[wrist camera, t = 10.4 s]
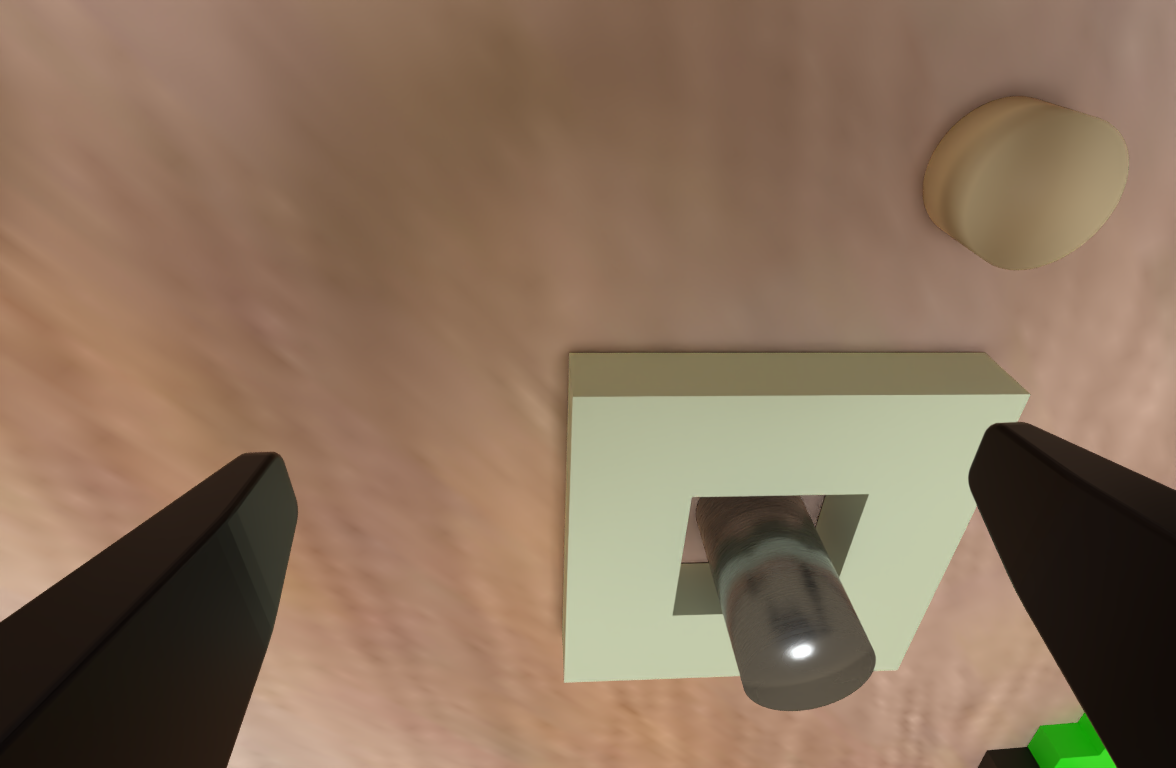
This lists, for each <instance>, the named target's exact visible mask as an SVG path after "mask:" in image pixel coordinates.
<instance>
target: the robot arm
mask: <svg viewBox="0 0 1176 768" xmlns="http://www.w3.org/2000/svg"><path fill="white" fill-rule="evenodd" d="M968 483H969V488H970V491H971V493H972V496H973V498H974V500H975V502H976V505H977V507H978V509H979V511H980V513H981V516H982V518H983V520H984V522H985V525H986V527H987V529H988V531H989V534H990V536H991V538H992V540H993V543H994V545H995V547H996V549H997V552H998V554H999V556H1000V558H1001V561H1002V563H1003V565H1004V567H1005V570H1006V572H1007V574H1008V576H1009V578H1010V580H1011V582H1012V584H1013V587H1014V589H1015V591H1016V593H1017V595H1018V596H1019V598H1020V600H1021V602H1022V604H1023V606H1024V607H1025V609H1026V611H1027V613H1028V614H1029V616H1030V618H1031V620H1032V621H1033V623H1034V625H1035V627H1036V628H1037V630H1038V632H1039V634H1040V635H1041V637H1042V639H1043V641H1044V642H1045V644H1046V646H1047V648H1048V649H1049V651H1050V653H1051V654H1052V656H1053V658H1054V660H1055V661H1056V663H1057V665H1058V667H1059V668H1060V670H1061V672H1062V674H1063V675H1064V677H1065V679H1066V681H1067V682H1068V684H1069V686H1070V687H1071V689H1072V691H1073V693H1074V694H1075V696H1076V698H1077V700H1078V701H1079V703H1080V705H1081V707H1082V708H1083V710H1084V712H1085V714H1086V715H1087V717H1088V719H1089V720H1090V722H1091V724H1092V726H1093V727H1094V729H1095V731H1096V733H1097V734H1098V736H1099V738H1100V740H1101V741H1102V743H1103V745H1104V747H1105V748H1106V750H1107V752H1108V754H1109V755H1110V757H1111V759H1112V760H1113V762H1114V764H1115V766H1116V767H1117V768H1176V490H1174V489H1172V488H1170V487H1167V486H1165V485H1163V484H1161V483H1159V482H1156V481H1154V480H1152V479H1150V478H1148V477H1145V476H1143V475H1141V474H1139V473H1137V472H1134V471H1132V470H1130V469H1128V468H1126V467H1123V466H1121V465H1119V464H1117V463H1115V462H1112V461H1110V460H1108V459H1106V458H1104V457H1101V456H1099V455H1097V454H1095V453H1093V452H1090V451H1088V450H1086V449H1084V448H1082V447H1079V446H1077V445H1075V444H1073V443H1071V442H1068V441H1066V440H1064V439H1062V438H1060V437H1057V436H1055V435H1053V434H1051V433H1049V432H1046V431H1044V430H1042V429H1040V428H1038V427H1035V426H1033V425H1031V424H1028V423H1025V422H1006V423H995V424H992V425H990V426H989V427H988V428H987V429H986V431H985V433H984V435H983V437H982V440H981V442H980V445H979V447H978V450H977V452H976V454H975V457H974V459H973V462H972V464H971V467H970V469H969V474H968ZM297 518H298V505H297V500H296V497H295V494H294V490H293V487H292V484H291V481H290V478H289V475H288V472H287V469H286V466H285V463H284V460H283V458H282V457H281V456H280V455H279V454H278V453H276V452H255V453H244V454H242V455H240V456H238V457H237V458H235V459H234V460H232V461H231V462H230V463H228V464H227V465H225V466H224V467H222V468H221V469H220V470H218V471H217V472H215V473H214V474H212V475H211V476H209V477H208V478H207V479H205V480H204V481H202V482H201V483H199V484H198V485H197V486H195V487H194V488H192V489H191V490H189V491H188V492H187V493H185V494H184V495H182V496H181V497H179V498H178V499H176V500H175V501H174V502H172V503H171V504H169V505H168V506H166V507H165V508H164V509H162V510H161V511H159V512H158V513H156V514H155V515H154V516H152V517H151V518H149V519H148V520H146V521H145V522H144V523H142V524H141V525H139V526H138V527H136V528H135V529H133V530H132V531H131V532H129V533H128V534H126V535H125V536H123V537H122V538H121V539H119V540H118V541H116V542H115V543H113V544H112V545H111V546H109V547H108V548H106V549H105V550H103V551H102V552H101V553H99V554H98V555H96V556H95V557H93V558H92V559H90V560H89V561H88V562H86V563H85V564H83V565H82V566H80V567H79V568H78V569H76V570H75V571H73V572H72V573H70V574H69V575H67V576H66V577H65V578H63V579H62V580H60V581H59V582H57V583H56V584H55V585H53V586H52V587H50V588H49V589H47V590H46V591H45V592H43V593H42V594H40V595H39V596H37V597H36V598H34V599H33V600H32V601H30V602H29V603H27V604H26V605H24V606H23V607H22V608H20V609H19V610H17V611H16V612H14V613H13V614H11V615H10V616H9V617H7V618H6V619H4V620H3V621H1V622H0V768H227V765H228V762H229V759H230V756H231V753H232V751H233V748H234V745H235V742H236V739H237V736H238V733H239V730H240V727H241V724H242V721H243V718H244V715H245V713H246V710H247V707H248V704H249V701H250V698H251V695H252V692H253V689H254V686H255V683H256V680H257V677H258V674H259V672H260V669H261V666H262V663H263V660H264V657H265V654H266V651H267V648H268V645H269V641H270V638H271V635H272V632H273V628H274V624H275V620H276V616H277V611H278V607H279V602H280V598H281V593H282V588H283V584H284V579H285V574H286V570H287V565H288V561H289V556H290V551H291V547H292V542H293V537H294V533H295V528H296V523H297Z"/></svg>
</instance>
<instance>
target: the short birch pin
mask: <svg viewBox="0 0 1176 768" xmlns="http://www.w3.org/2000/svg"><path fill="white" fill-rule="evenodd" d="M1128 170H1129V156H1128V149H1127V146H1126V143H1125V141H1124V139H1123V137H1122V136H1121V134H1120V133H1119V132H1118V130H1117V129H1116V128H1115V127H1114V126H1112V125H1111V124H1110V123H1108V122H1106V121H1104V120H1102V119H1100V118H1097V117H1094V116H1090V115H1087V114H1084V113H1081V112H1077V111H1074V110H1071V109H1068V108H1065V107H1061V106H1058V105H1055V104H1052V103H1049V102H1045V101H1042V100H1039V99H1035V98H1032V97H1026V96H1010V97H1005V98H1000V99H997V100H994V101H991V102H989V103H986V104H984V105H982V106H980V107H978V108H976V109H975V110H973V111H971V112H970V113H969V114H967V115H966V116H964V117H963V118H962V119H961V120H960V121H958V122H957V123H956V124H955V125H954V126H953V127H952V128H951V129H950V130H949V131H948V132H947V133H946V135H945V136H944V137H943V139H942V140H941V141H940V143H939V144H938V146H937V147H936V149H935V151H934V152H933V154H932V156H931V158H930V160H929V163H928V166H927V169H926V172H925V176H924V181H923V200H924V205H925V208H926V211H927V213H928V215H929V217H930V219H931V220H932V221H933V223H934V224H935V225H936V226H937V227H939V228H940V229H941V230H942V231H944V232H945V233H947V234H948V235H950V236H951V237H952V238H954V239H955V240H957V241H958V242H959V243H961V244H962V245H964V246H965V247H967V248H968V249H969V250H971V251H972V252H974V253H975V254H976V255H978V256H979V257H981V258H982V259H984V260H985V261H987V262H988V263H990V264H992V265H994V266H996V267H999V268H1003V269H1008V270H1027V269H1033V268H1037V267H1041V266H1044V265H1047V264H1050V263H1052V262H1055V261H1057V260H1059V259H1061V258H1063V257H1065V256H1067V255H1068V254H1070V253H1071V252H1073V251H1075V250H1076V249H1077V248H1079V247H1080V246H1081V245H1083V244H1084V243H1085V242H1086V241H1088V240H1089V239H1090V238H1091V237H1092V236H1093V235H1094V234H1095V233H1096V232H1097V231H1098V230H1099V229H1100V228H1101V227H1102V226H1103V224H1104V223H1105V222H1106V221H1107V219H1108V218H1109V217H1110V215H1111V214H1112V212H1113V211H1114V209H1115V207H1116V206H1117V204H1118V202H1119V200H1120V198H1121V196H1122V193H1123V191H1124V188H1125V185H1126V181H1127V177H1128Z"/></svg>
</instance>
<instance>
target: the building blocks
mask: <svg viewBox="0 0 1176 768" xmlns="http://www.w3.org/2000/svg"><path fill="white" fill-rule="evenodd" d="M978 768H1117V767H1116V766H1115V764H1114V762H1113V760H1112V759H1111V757H1110V755H1109V754H1108V752H1107V750H1106V748H1105V747H1104V745H1103V743H1102V741H1101V740H1100V738H1099V736H1098V734H1097V733H1096V731H1095V729H1094V727H1093V726H1092V724H1091V722H1090V720H1089V719H1088V717H1087V715H1086V714H1085V713H1084V714H1083V716H1082V717H1081V718H1080V720H1079V721H1078V723H1068V724H1055V725H1043V726H1040V727H1039V729H1038V730H1037V732H1036V734H1035V735H1034V737H1033V738H1032V740H1031V742H1030V743H1029V745H1028V747H1022V748H1010V749H999V750H987V752H986V754H985V756H984V757H983V759H982V761H981V763H980V765H979V767H978Z"/></svg>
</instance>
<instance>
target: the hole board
mask: <svg viewBox="0 0 1176 768" xmlns="http://www.w3.org/2000/svg"><path fill="white" fill-rule="evenodd" d="M1030 395H1031V394H1030V393H1029V392H1028V391H1026V390H1025V389H1024V388H1023V387H1022V386H1021V385H1020V384H1019V383H1018V382H1017V381H1016V380H1014V379H1013V378H1012V377H1011V376H1010V375H1009V374H1008V373H1007V372H1006V371H1005V370H1003V369H1002V368H1001V367H1000V366H999V365H998V364H997V363H996V362H995V361H994V360H993V359H991V358H990V357H989V356H988V355H987V354H986V353H569V379H568V418H567V457H566V496H565V536H564V575H563V614H562V640H563V667H564V683H565V682H592V681H619V680H646V679H673V678H699V677H726V676H740V673H739V670H738V666H737V663H736V659H735V656H734V652H733V648H732V645H731V641H730V638H729V634H728V631H727V627H726V623H725V620H724V616H723V613H722V609H721V605H720V602H719V598H718V595H717V591H716V588H715V584H714V580H713V577H712V573H711V570H710V566H709V563H693V564H681V560H682V554H683V548H684V542H685V536H686V530H687V524H688V517H689V511H690V505H691V499H692V497H728V496H787V495H826V496H825V499H824V502H823V506H822V509H821V512H820V515H819V518H818V522H817V525H816V530H817V532H818V535H819V537H820V539H821V541H822V543H823V545H824V547H825V549H826V551H827V553H828V555H829V558H830V560H831V562H832V564H833V566H834V568H835V570H836V572H837V574H838V576H839V579H840V581H841V583H842V585H843V587H844V589H845V591H846V593H847V595H848V597H849V599H850V602H851V604H852V606H853V608H854V610H855V612H856V614H857V616H858V618H859V620H860V622H861V625H862V627H863V629H864V631H865V633H866V635H867V637H868V639H869V641H870V643H871V645H872V648H873V650H874V652H875V655H876V664H875V668H874V671H887V670H898V668H899V666H900V664H901V662H902V660H903V658H904V656H905V653H906V651H907V649H908V647H909V645H910V643H911V641H912V639H913V637H914V635H915V633H916V631H917V629H918V627H919V624H920V622H921V620H922V618H923V616H924V614H925V612H926V610H927V608H928V606H929V604H930V602H931V600H932V598H933V595H934V593H935V591H936V589H937V587H938V585H939V583H940V581H941V579H942V577H943V575H944V573H945V571H946V569H947V566H948V564H949V562H950V560H951V558H952V556H953V554H954V552H955V550H956V548H957V546H958V544H959V542H960V540H961V537H962V535H963V533H964V531H965V529H966V527H967V525H968V523H969V521H970V519H971V517H972V515H973V513H974V511H975V508H976V506H977V505H976V502H975V500H974V498H973V496H972V493H971V491H970V488H969V483H968V474H969V469H970V467H971V464H972V462H973V459H974V457H975V454H976V452H977V450H978V447H979V445H980V442H981V440H982V437H983V435H984V433H985V431H986V429H987V428H988V427H989V426H990V425H992V424H995V423H1006V422H1017V421H1018V419H1019V417H1020V415H1021V413H1022V411H1023V409H1024V407H1025V405H1026V403H1027V401H1028V399H1029V397H1030Z"/></svg>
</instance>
